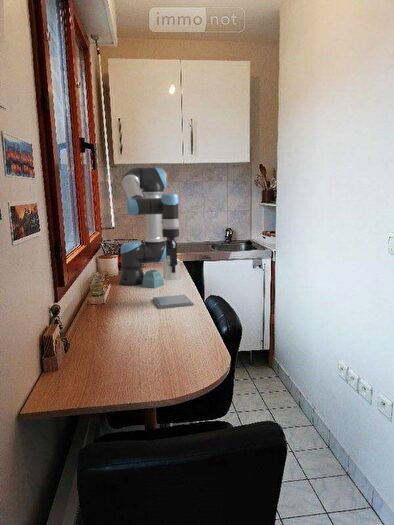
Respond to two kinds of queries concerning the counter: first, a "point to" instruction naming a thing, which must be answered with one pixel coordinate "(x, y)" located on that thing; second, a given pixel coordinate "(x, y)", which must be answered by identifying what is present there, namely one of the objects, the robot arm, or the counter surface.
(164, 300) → the plate
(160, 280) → the teal faceted dome
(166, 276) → the plug
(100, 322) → the counter surface
